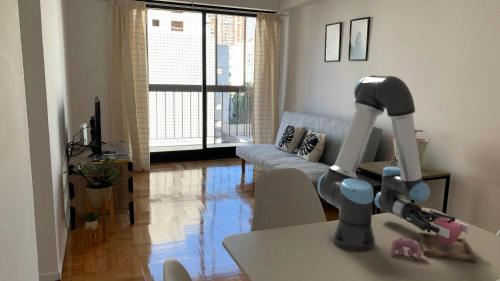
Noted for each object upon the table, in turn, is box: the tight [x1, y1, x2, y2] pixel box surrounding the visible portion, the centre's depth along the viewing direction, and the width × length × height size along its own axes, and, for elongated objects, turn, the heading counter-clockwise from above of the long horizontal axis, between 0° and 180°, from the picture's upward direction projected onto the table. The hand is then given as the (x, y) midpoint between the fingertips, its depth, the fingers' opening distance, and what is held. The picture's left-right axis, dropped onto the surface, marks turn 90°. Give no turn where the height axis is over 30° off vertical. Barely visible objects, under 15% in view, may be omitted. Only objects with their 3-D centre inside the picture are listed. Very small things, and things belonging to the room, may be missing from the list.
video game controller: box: [390, 237, 422, 262], centre depth 133 cm, size 10×5×7 cm, turn 66°
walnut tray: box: [418, 232, 477, 264], centre depth 138 cm, size 16×16×2 cm
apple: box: [432, 218, 463, 244], centre depth 137 cm, size 10×9×10 cm
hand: (458, 231), depth 133 cm, fingers closed on apple, 9 cm apart
